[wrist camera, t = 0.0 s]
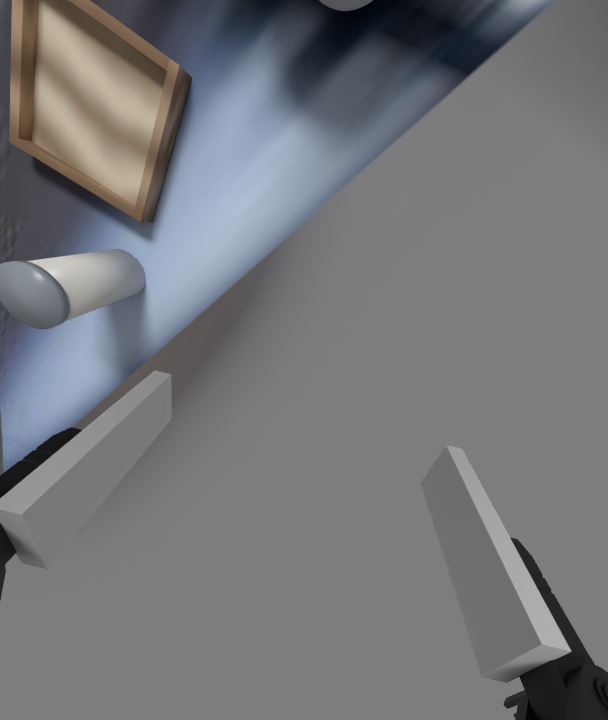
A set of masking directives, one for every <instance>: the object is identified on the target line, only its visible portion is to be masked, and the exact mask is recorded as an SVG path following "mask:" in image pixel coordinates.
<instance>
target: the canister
mask: <svg viewBox="0 0 608 720" xmlns="http://www.w3.org/2000/svg"><path fill="white" fill-rule="evenodd" d="M145 283H146V277H145V272H144V269H143V267H142V266H141V264H140V263H139V261H138V260H137V259H136V258H135V257H134V256H133V255H131V254H130V253H128V252H126V251H124V250H120V249H114V250H106V251H99V252H92V253H84V254H77V255H70V256H62V257H55V258H48V259H40V260H33V261H13V262H5V263H2V264H0V301H1V303H2V304H3V306H4V307H5V308H6V309H7V310H8V311H9V312H10V313H11V314H12V315H13V316H14V317H15V318H17V319H18V320H20V321H21V322H23V323H24V324H26V325H29V326H31V327H34V328H38V329H49V328H52V327H55V326H57V325H60V324H62V323H63V322H65V321H66V320H69V319H72V318H74V317H77V316H80V315H82V314H85V313H88V312H91V311H93V310H96V309H99V308H101V307H104V306H107V305H109V304H112V303H115V302H117V301H120V300H123V299H125V298H128V297H131V296H133V295H136V294H138V293H140V292H141V291H142V290H143V289H144V287H145Z"/></svg>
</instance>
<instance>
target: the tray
mask: <svg viewBox="0 0 608 720" xmlns="http://www.w3.org/2000/svg"><path fill="white" fill-rule="evenodd" d="M191 78H192V77H191V76H190V75H189V74H188V73H187V72H186V71H185V70H184V69H183V68H181V67H180V66H179V65H178V64H177V63H175V62H174V61H173V60H171V59H170V58H168V57H167V56H166V55H164V54H163V53H162V52H160V51H159V50H157V49H156V48H155V47H153V46H152V45H151V44H149V43H148V42H146V41H145V40H144V39H142V38H141V37H140V36H138V35H137V34H135V33H134V32H133V31H131V30H130V29H129V28H127V27H126V26H124V25H123V24H122V23H120V22H119V21H118V20H116V19H115V18H113V17H112V16H111V15H109V14H108V13H107V12H105V11H104V10H102V9H101V8H100V7H98V6H97V5H96V4H94V3H93V2H91V1H90V0H12V32H11V83H10V134H9V142H10V143H12V144H14V145H15V146H17V147H19V148H20V149H22V150H23V151H25V152H27V153H28V154H30V155H32V156H33V157H35V158H36V159H38V160H40V161H41V162H43V163H45V164H46V165H48V166H49V167H51V168H53V169H54V170H56V171H58V172H59V173H61V174H62V175H64V176H66V177H67V178H69V179H71V180H72V181H74V182H76V183H77V184H79V185H80V186H82V187H84V188H85V189H87V190H89V191H90V192H92V193H93V194H95V195H97V196H98V197H100V198H102V199H103V200H105V201H106V202H108V203H110V204H111V205H113V206H115V207H116V208H118V209H119V210H121V211H123V212H124V213H126V214H128V215H129V216H131V217H133V218H134V219H136V220H137V221H139V222H153V218H154V215H155V211H156V207H157V204H158V200H159V196H160V193H161V189H162V185H163V182H164V178H165V174H166V170H167V167H168V163H169V159H170V156H171V152H172V148H173V145H174V141H175V137H176V133H177V130H178V126H179V122H180V119H181V115H182V111H183V108H184V104H185V100H186V97H187V93H188V89H189V85H190V82H191Z"/></svg>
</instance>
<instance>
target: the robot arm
mask: <svg viewBox="0 0 608 720" xmlns="http://www.w3.org/2000/svg"><path fill="white" fill-rule="evenodd" d="M171 414H172V410H171V374H167V373H163V372H159V371H153V372H152V373H151V374H150V375H149V376H147V377H146V378H145V379H144V380H143V381H141V382H140V383H139V384H138V385H137V386H136V387H134V388H133V389H132V390H131V391H129V392H128V393H127V394H126V395H125V396H123V397H122V398H121V399H120V400H119V401H117V402H116V403H115V404H114V405H113V406H111V407H110V408H109V409H108V410H107V411H105V412H104V413H103V414H102V415H100V416H99V417H98V418H97V419H96V420H95V421H93V422H92V423H91V424H90V425H89V426H87V427H86V428H85V429H84V430H80V429H76V428H72V427H71V428H69V429H66V430H64V431H62V432H60V433H58V434H56V435H53V436H52V437H50V438H49V439H48V440H47V441H45V442H44V443H43V444H41V445H40V446H39V447H37V449H36V450H35V451H34V450H33V451H32V452H31V453H29V454H28V455H27V456H25V457H24V458H23V460H22V461H19V462H18V463H16V464H15V465H14V466H12V467H11V468H10V469H8V470H7V471H6V472H4V473H3V474H2V475H1V476H0V599H1V593H2V588H3V583H4V578H5V573H6V569H5V564H6V563H7V562H8V561H9V560H10V559H11V558H12V556H13V555H14V554H15V553H16V554H17V556H18V557H19V559H20V561H21V562H22V563H24V564H28V565H32V566H36V567H40V568H44V569H48V568H49V567H50V566H51V564H52V563H53V562H54V561H55V560H56V558H57V557H58V556H59V555H60V554H61V552H62V551H63V550H64V549H65V548H66V546H67V545H68V544H69V543H70V541H71V540H72V539H73V538H74V537H75V535H76V534H77V533H78V532H79V531H80V529H81V528H82V527H83V526H84V525H85V523H86V522H87V521H88V520H89V519H90V517H91V516H92V515H93V514H94V512H95V511H96V510H97V509H98V508H99V506H100V505H101V504H102V503H103V502H104V500H105V499H106V498H107V497H108V496H109V494H110V493H111V492H112V491H113V490H114V488H115V487H116V486H117V485H118V483H119V482H120V481H121V480H122V479H123V477H124V476H125V475H126V474H127V473H128V471H129V470H130V469H131V468H132V467H133V465H134V464H135V463H136V462H137V461H138V459H139V458H140V457H141V456H142V454H143V453H144V452H145V451H146V450H147V448H148V447H149V446H150V445H151V444H152V442H153V441H154V440H155V439H156V438H157V436H158V435H159V434H160V433H161V432H162V430H163V429H164V428H165V427H166V425H167V424H168V423H169V422H170V420H171V419H172V415H171ZM421 486H422V489H423V492H424V495H425V498H426V501H427V505H428V508H429V511H430V514H431V517H432V520H433V524H434V527H435V530H436V533H437V536H438V540H439V543H440V546H441V549H442V552H443V555H444V559H445V561H446V565H447V568H448V571H449V574H450V578H451V580H452V584H453V587H454V590H455V593H456V597H457V600H458V603H459V606H460V609H461V613H462V616H463V619H464V622H465V625H466V628H467V631H468V635H469V638H470V641H471V644H472V647H473V651H474V654H475V657H476V660H477V663H478V667H479V670H480V673H481V676H482V677H485V678H489V679H493V680H497V681H501V682H505V683H507V682H509V681H511V680H513V679H515V678H517V677H520V679H521V682H522V684H523V686H524V689H525V690H524V691H522V692H519V693H517V694H515V695H512V696H510V697H508V698H506V700H505V702H504V706H505V707H506V708H511V707H513V706H516V705H518V707H517V713H515V714H514V717H515V718H516V719H515V720H608V673H607V672H606V671H605V670H603V669H602V668H601V667H599V666H596V665H595V664H594V662H593V661H592V659H591V658H590V656H589V654H588V653H587V651H586V649H585V648H584V646H583V644H582V642H581V641H580V639H579V637H578V636H577V634H576V632H575V630H574V628H573V627H572V625H571V624H570V622H569V620H568V618H567V617H566V615H565V613H564V611H563V609H562V608H561V606H560V604H559V603H558V601H557V599H556V597H555V595H554V594H552V593H551V589H550V587H549V585H548V584H547V582H546V580H545V578H543V577H542V573H541V571H540V569H539V568H538V566H537V564H536V563H535V561H534V559H533V557H532V556H531V555H530V554H529V553H528V551H527V550H526V549H525V548H524V546H523V545H522V544H521V543H520V542H519V541H518V540H517V539H514V538H510V537H509V535H508V533H507V531H506V529H505V528H504V526H503V524H502V522H501V520H500V518H499V516H498V515H497V513H496V511H495V509H494V507H493V505H492V504H491V502H490V500H489V498H488V496H487V494H486V492H485V491H484V489H483V487H482V485H481V483H480V481H479V480H478V478H477V476H476V474H475V472H474V470H473V468H472V467H471V465H470V463H469V461H468V460H467V457H466V455H465V454H464V452H463V450H462V449H460V448H456V447H452V446H448V445H446V446H445V448H444V449H443V450H442V452H441V454H440V455H439V456H438V458H437V459H436V461H435V462H434V464H433V465H432V467H431V468H430V470H429V471H428V473H427V474H426V476H425V477H424V478H423V480H422V481H421Z"/></svg>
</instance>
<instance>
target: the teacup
mask: <svg viewBox="0 0 608 720" xmlns="http://www.w3.org/2000/svg"><path fill="white" fill-rule="evenodd" d="M319 1H320V2H321V3H323V4H324V5H326V6H327V7H330V8H332V9H335V10H339V11H350V10H355V9H358V8H361V7H363V6H365V5H367V4H369V3H370V2H372V1H373V0H319Z"/></svg>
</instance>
